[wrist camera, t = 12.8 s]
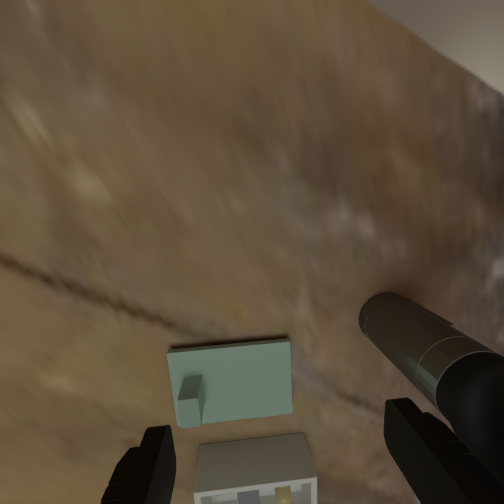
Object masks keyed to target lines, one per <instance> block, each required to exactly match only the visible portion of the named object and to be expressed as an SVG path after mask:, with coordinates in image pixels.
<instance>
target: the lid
mask: <svg viewBox="0 0 504 504" xmlns="http://www.w3.org/2000/svg"><path fill="white" fill-rule="evenodd" d="M167 358H168V365H169V372H170V379H171V385H172V392H173V399H174V405H175V412H176V419H177V426H181V428H189V427H198V426H201V424H205V423H213V422H222V421H231V420H240V419H248V418H257V417H266V416H275V415H284V414H292V385H291V354H290V340H289V338H286V339H276V340H265V341H255V342H244V343H234V344H224V345H213V346H203V347H192V348H182V349H172V350H168V352H167Z"/></svg>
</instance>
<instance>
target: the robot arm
mask: <svg viewBox="0 0 504 504" xmlns="http://www.w3.org/2000/svg"><path fill="white" fill-rule="evenodd" d="M359 322H360V327H361V330H362V331H363V333H364V334H365V335H366V336H367V337H368V338H369V339H370V340H371V341H372V342H373V343H374V344H375V345H376V347H377V348H378V349H379V350H380V351H381V352H382V353H383V354H384V355H385V356H386V357H387V358H388V359H389V360H390V361H391V362H392V363H393V364H394V365H395V366H396V367H397V368H398V369H399V370H400V371H401V372H402V374H403V375H404V376H405V377H406V378H407V379H408V380H409V381H410V382H411V383H412V384H413V385H414V386H415V387H416V388H417V389H418V390H419V391H420V392H421V393H422V394H423V395H424V396H425V397H426V398H427V399H428V400H429V401H430V402H431V403H432V404H433V405H434V406H435V407H436V409H437V410H438V411H439V412H440V413H441V414H442V415H443V416H444V417H445V418H446V419H447V420H448V421H449V422H450V424H451V426H452V428H453V431H454V433H455V434H456V435H455V434H454V433H453V432H452V431H451V430H450V429H449V428H448V426H447V425H446V424H445V423H443V422H442V421H440V420H439V419H437V418H436V417H434V416H433V415H431V414H430V413H429V412H424V413H422V411H421V410H420V409H419V408H418V407H417V406H416V405H415V403H414V402H413V401H412V400H411V399H409V398H398V399H390V400H386V402H385V416H384V438H385V442H386V445H387V448H388V450H389V452H390V454H391V455H392V457H393V459H394V460H395V462H396V464H397V465H398V467H399V468H400V470H401V472H402V473H403V475H404V477H405V478H406V480H407V481H408V483H409V485H410V486H411V488H412V490H413V491H414V493H415V494H416V496H417V498H418V499H419V501H420V503H421V504H504V357H503V356H501V355H499V354H498V353H496V352H494V351H493V350H491V349H489V348H487V347H486V346H484V345H482V344H481V343H479V342H477V341H475V340H474V339H472V338H470V337H468V336H467V335H465V334H463V333H462V332H460V331H458V330H456V327H455V325H454V324H452V323H451V322H449V321H447V320H445V319H444V318H442V317H440V316H438V315H437V314H435V313H433V312H431V311H430V310H428V309H426V308H424V307H423V306H421V305H419V304H417V303H415V302H414V301H412V300H410V299H404V298H402V297H400V296H399V295H396V294H392V293H383V294H380V295H377V296H375V297H373V298H372V299H370V300H369V301H368V302H367V303H366V304H365V305H364V307H363V309H362V311H361V314H360V319H359ZM175 475H176V455H175V449H174V443H173V437H172V431H171V427H170V425H165V426H156V427H148V428H147V429H146V431H145V433H144V436H143V439H142V441H141V444H140V447H133V448H129V450H128V451H127V452H126V453H125V455H124V456H123V457H122V459H121V460H120V461H119V462H118V464H117V465H116V467H115V470H114V472H113V474H112V477H111V479H110V481H109V483H108V484H109V485H108V487H107V488H106V490H105V493H104V495H103V497H102V499H101V504H170V501H171V496H172V492H173V487H174V482H175Z"/></svg>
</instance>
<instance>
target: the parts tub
mask: <svg viewBox="0 0 504 504" xmlns="http://www.w3.org/2000/svg"><path fill="white" fill-rule="evenodd" d="M193 494H194V500H195V504H317V476H316V473H315V469H314V466H313V463H312V459H311V456H310V453H309V449H308V446H307V443H306V439H305V436H304V433H297V434H288V435H280V436H272V437H263V438H255V439H246V440H238V441H230V442H221V443H213V444H205V445H200V448H199V456H198V463H197V471H196V478H195V486H194V493H193Z"/></svg>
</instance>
